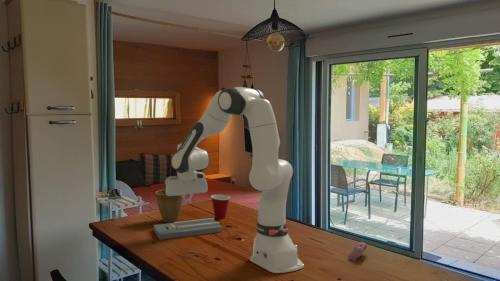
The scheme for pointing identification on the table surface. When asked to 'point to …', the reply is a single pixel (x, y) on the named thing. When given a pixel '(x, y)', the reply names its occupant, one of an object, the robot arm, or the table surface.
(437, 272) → the table surface
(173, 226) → the ball
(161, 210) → the plant pot
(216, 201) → the plastic cup
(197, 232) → the hole board
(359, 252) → the pink plastic figure
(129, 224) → the table surface
